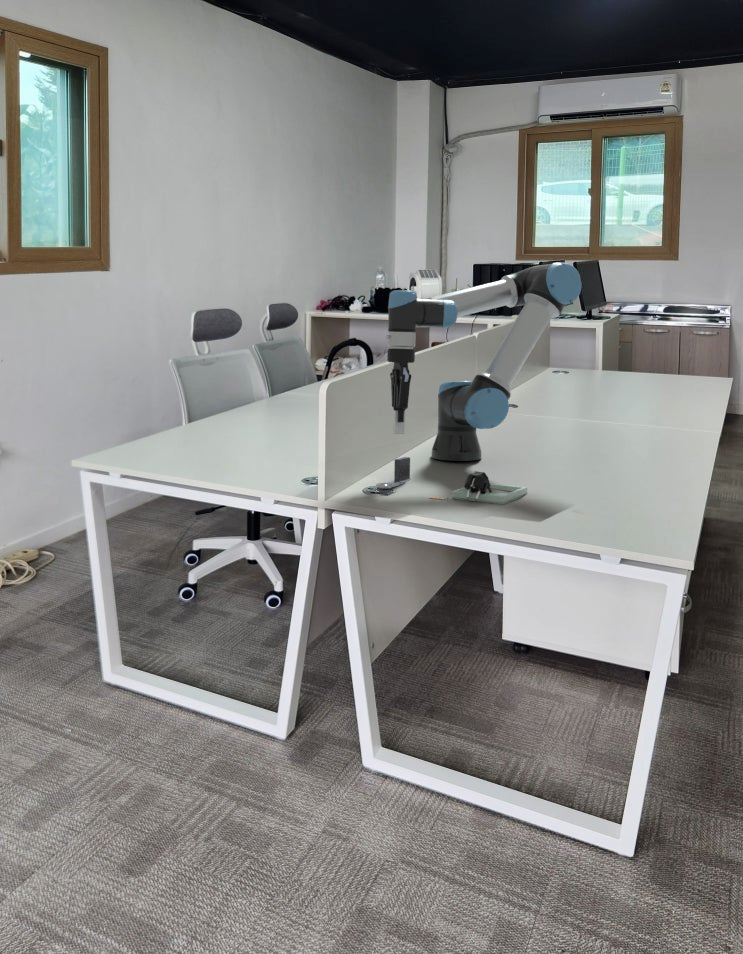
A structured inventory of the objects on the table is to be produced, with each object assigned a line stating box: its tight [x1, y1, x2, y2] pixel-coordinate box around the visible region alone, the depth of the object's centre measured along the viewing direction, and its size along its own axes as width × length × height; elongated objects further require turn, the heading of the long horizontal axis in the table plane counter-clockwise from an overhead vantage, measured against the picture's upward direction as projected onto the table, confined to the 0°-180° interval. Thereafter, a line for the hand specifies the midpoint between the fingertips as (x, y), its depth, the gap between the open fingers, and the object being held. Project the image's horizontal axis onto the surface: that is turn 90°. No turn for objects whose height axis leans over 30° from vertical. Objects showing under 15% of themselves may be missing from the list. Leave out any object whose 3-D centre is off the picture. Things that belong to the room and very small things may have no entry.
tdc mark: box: [429, 496, 446, 501], centre depth 220 cm, size 1×4×1 cm, turn 59°
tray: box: [452, 483, 528, 505], centre depth 224 cm, size 16×14×2 cm
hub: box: [374, 488, 395, 496], centre depth 228 cm, size 7×7×1 cm
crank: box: [375, 456, 412, 489], centre depth 232 cm, size 15×4×7 cm, turn 149°
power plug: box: [463, 470, 493, 500], centre depth 220 cm, size 6×8×12 cm
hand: (398, 433), depth 240 cm, fingers closed
